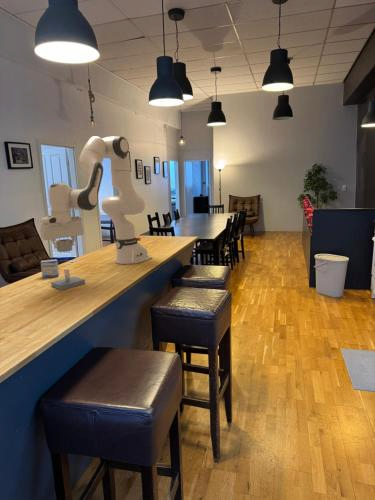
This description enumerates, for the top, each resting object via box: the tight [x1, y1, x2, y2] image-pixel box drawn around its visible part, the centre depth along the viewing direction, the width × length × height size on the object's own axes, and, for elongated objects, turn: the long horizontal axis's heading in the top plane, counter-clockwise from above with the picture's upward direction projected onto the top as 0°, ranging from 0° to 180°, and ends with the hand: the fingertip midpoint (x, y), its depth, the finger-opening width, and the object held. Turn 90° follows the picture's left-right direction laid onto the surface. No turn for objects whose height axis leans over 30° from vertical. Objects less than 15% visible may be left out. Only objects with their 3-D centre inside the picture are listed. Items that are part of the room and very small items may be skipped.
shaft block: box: [50, 268, 86, 291], centre depth 167 cm, size 12×10×8 cm
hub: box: [55, 238, 73, 253], centre depth 166 cm, size 6×6×5 cm
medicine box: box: [40, 258, 60, 279], centre depth 183 cm, size 8×4×9 cm, turn 105°
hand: (64, 246), depth 166 cm, fingers closed on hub, 6 cm apart
